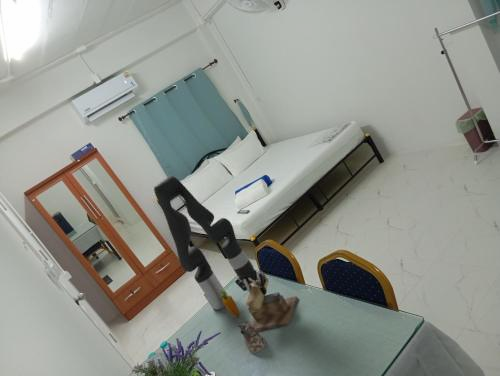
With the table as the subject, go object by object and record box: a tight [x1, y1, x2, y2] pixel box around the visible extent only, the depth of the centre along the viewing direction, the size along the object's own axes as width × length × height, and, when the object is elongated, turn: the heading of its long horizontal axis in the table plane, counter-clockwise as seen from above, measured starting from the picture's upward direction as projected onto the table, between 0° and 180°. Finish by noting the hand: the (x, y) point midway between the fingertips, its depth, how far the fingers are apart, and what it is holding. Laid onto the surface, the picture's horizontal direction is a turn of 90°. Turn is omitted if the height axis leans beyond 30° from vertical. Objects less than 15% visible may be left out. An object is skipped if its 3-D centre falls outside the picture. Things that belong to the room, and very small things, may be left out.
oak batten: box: [245, 273, 270, 313], centre depth 188 cm, size 4×20×5 cm, turn 166°
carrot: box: [219, 290, 240, 318], centre depth 204 cm, size 5×5×15 cm
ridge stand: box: [247, 291, 299, 332], centre depth 190 cm, size 20×16×10 cm
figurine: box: [237, 321, 266, 354], centre depth 176 cm, size 7×7×12 cm
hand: (260, 294), depth 189 cm, fingers closed on oak batten, 4 cm apart
